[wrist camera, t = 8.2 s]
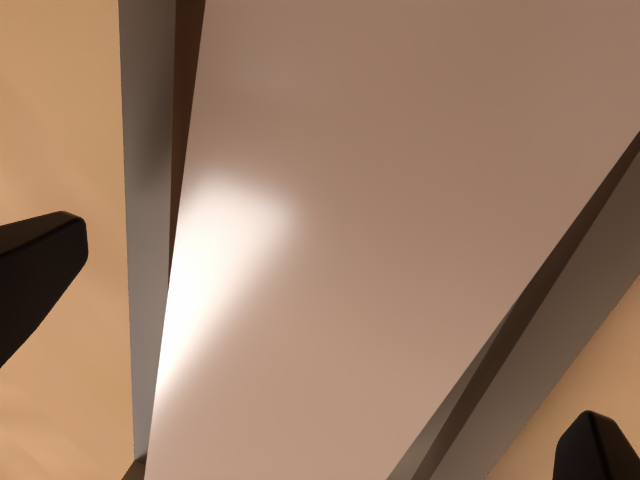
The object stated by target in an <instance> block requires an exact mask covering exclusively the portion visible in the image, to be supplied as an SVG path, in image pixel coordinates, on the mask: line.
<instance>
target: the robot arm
mask: <svg viewBox="0 0 640 480" xmlns="http://www.w3.org/2000/svg"><path fill="white" fill-rule="evenodd" d="M87 258H88V241H87V230H86V223H85V221H84V219H83V218H81V217H79V216H76V215H74V214H71V213H68V212H65V211H58V212H53V213H49V214H46V215H42V216H38V217H34V218H30V219H26V220H22V221H18V222H14V223H10V224H6V225H2V226H0V368H1V367H2V366H3V365H4V364H5V363H6V362H7V360H8V359H9V358H10V357H11V356H12V355H13V354H14V353H15V352H16V351H17V350H18V349H19V347H20V346H21V345H22V344H23V343H24V342H25V341H26V340H27V339H28V338H29V337H30V335H31V334H32V333H33V332H34V331H35V330H36V329H37V327H38V326H39V325H40V324H41V322H42V321H43V320H44V319H45V317H46V316H47V315H48V313H49V312H50V311H51V309H52V308H53V307H54V305H55V304H56V302H57V301H58V300H59V298H60V297H61V296H62V294H63V293H64V292H65V290H66V289H67V288H68V286H69V285H70V284H71V282H72V281H73V280H74V278H75V277H76V276H77V274H78V273H79V272H80V270H81V269H82V268H83V266H84V265H85V263H86V261H87ZM552 480H640V458H639V457H638V455H637V454H636V452H635V451H634V449H633V448H632V446H631V445H630V443H629V442H628V440H627V439H626V437H625V435H624V434H623V432H622V431H621V429H620V428H619V426H618V425H617V424H616V422H615V421H614V420H612V419H611V418H609V417H606V416H604V415H601V414H598V413H596V412H593V411H589V410H586V411H584V412H582V413H581V414H580V415H579V416H578V417H577V419H576V420H575V421H574V422H573V423H572V424H571V426H570V427H569V428H568V429H567V430H566V431H565V433H564V434H563V435H562V436H561V438H560V439H559V441H558V444H557V447H556V453H555V462H554V470H553V479H552Z"/></svg>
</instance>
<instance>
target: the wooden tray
mask: <svg viewBox="0 0 640 480" xmlns="http://www.w3.org/2000/svg"><path fill="white" fill-rule="evenodd" d="M118 3H119V32H120V60H121V89H122V118H123V146H124V175H125V203H126V232H127V261H128V289H129V318H130V347H131V375H132V404H133V433H134V462H133V463H132V465H131V466H130V468H129V469H128V471H127V472H126V474H125V475H124V477H123V478H122V480H144V477H145V469H146V461H147V454H148V446H149V438H150V430H151V422H152V415H153V407H154V399H155V391H156V384H157V376H158V368H159V360H160V352H161V345H162V337H163V329H164V321H165V314H166V306H167V298H168V290H169V283H170V275H171V267H172V259H173V251H174V244H175V236H176V228H177V220H178V213H179V205H180V197H181V189H182V182H183V174H184V166H185V158H186V150H187V143H188V135H189V127H190V119H191V112H192V104H193V96H194V88H195V81H196V73H197V65H198V57H199V49H200V42H201V34H202V26H203V18H204V11H205V3H206V0H118ZM639 274H640V131H639V132H638V133H637V135H636V136H635V138H634V139H633V140H632V142H631V143H630V144H629V146H628V147H627V149H626V150H625V151H624V153H623V154H622V155H621V157H620V158H619V160H618V161H617V162H616V164H615V165H614V167H613V168H612V169H611V171H610V172H609V173H608V175H607V176H606V178H605V179H604V180H603V182H602V183H601V184H600V186H599V187H598V189H597V190H596V191H595V193H594V194H593V195H592V197H591V198H590V200H589V201H588V202H587V204H586V205H585V206H584V208H583V209H582V211H581V212H580V213H579V215H578V216H577V217H576V219H575V220H574V222H573V223H572V224H571V226H570V227H569V228H568V230H567V231H566V233H565V234H564V235H563V237H562V238H561V239H560V241H559V242H558V244H557V245H556V246H555V248H554V249H553V250H552V252H551V253H550V255H549V256H548V257H547V259H546V260H545V261H544V263H543V264H542V266H541V267H540V268H539V270H538V271H537V272H536V274H535V275H534V277H533V278H532V279H531V281H530V282H529V283H528V285H527V286H526V288H525V289H524V290H523V292H522V293H521V294H520V296H519V297H518V299H517V300H516V301H515V303H514V304H513V305H512V307H511V308H510V310H509V311H508V312H507V314H506V315H505V316H504V318H503V319H502V321H501V322H500V323H499V325H498V326H497V327H496V329H495V330H494V332H493V333H492V334H491V336H490V337H489V339H488V340H487V341H486V343H485V344H484V345H483V347H482V348H481V350H480V351H479V352H478V354H477V355H476V356H475V358H474V359H473V361H472V362H471V363H470V365H469V366H468V367H467V369H466V370H465V372H464V373H463V374H462V376H461V377H460V378H459V380H458V381H457V383H456V384H455V385H454V387H453V388H452V389H451V391H450V392H449V394H448V395H447V396H446V398H445V399H444V400H443V402H442V403H441V405H440V406H439V407H438V409H437V410H436V411H435V413H434V414H433V416H432V417H431V418H430V420H429V421H428V422H427V424H426V425H425V427H424V428H423V429H422V431H421V432H420V433H419V435H418V436H417V438H416V439H415V440H414V442H413V443H412V444H411V446H410V447H409V449H408V450H407V451H406V453H405V454H404V455H403V457H402V458H401V460H400V461H399V462H398V464H397V465H396V466H395V468H394V469H393V471H392V472H391V473H390V475H389V476H388V477H387V479H386V480H483V479H484V478H485V477H486V475H487V474H488V473H489V471H490V470H491V469H492V467H493V466H494V465H495V463H496V462H497V461H498V460H499V458H500V457H501V456H502V454H503V453H504V452H505V450H506V449H507V448H508V446H509V445H510V444H511V442H512V441H513V440H514V439H515V437H516V436H517V435H518V433H519V432H520V431H521V429H522V428H523V427H524V425H525V424H526V423H527V421H528V420H529V419H530V417H531V416H532V415H533V414H534V412H535V411H536V410H537V408H538V407H539V406H540V404H541V403H542V402H543V400H544V399H545V398H546V396H547V395H548V394H549V393H550V391H551V390H552V389H553V387H554V386H555V385H556V383H557V382H558V381H559V379H560V378H561V377H562V375H563V374H564V373H565V371H566V370H567V369H568V368H569V366H570V365H571V364H572V362H573V361H574V360H575V358H576V357H577V356H578V354H579V353H580V352H581V350H582V349H583V348H584V347H585V345H586V344H587V343H588V341H589V340H590V339H591V337H592V336H593V335H594V333H595V332H596V331H597V329H598V328H599V327H600V325H601V324H602V323H603V322H604V320H605V319H606V318H607V316H608V315H609V314H610V312H611V311H612V310H613V308H614V307H615V306H616V304H617V303H618V302H619V301H620V299H621V298H622V297H623V295H624V294H625V293H626V291H627V290H628V289H629V287H630V286H631V285H632V283H633V282H634V281H635V279H636V278H637V277H638V276H639Z"/></svg>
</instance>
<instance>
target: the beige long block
mask: <svg viewBox="0 0 640 480" xmlns="http://www.w3.org/2000/svg"><path fill="white" fill-rule="evenodd" d="M639 131H640V0H206V3H205V11H204V18H203V26H202V34H201V42H200V49H199V57H198V65H197V73H196V81H195V88H194V96H193V104H192V112H191V119H190V127H189V135H188V143H187V150H186V158H185V166H184V174H183V182H182V189H181V197H180V205H179V213H178V220H177V228H176V236H175V244H174V251H173V259H172V267H171V275H170V283H169V290H168V298H167V306H166V314H165V321H164V329H163V337H162V345H161V352H160V360H159V368H158V376H157V384H156V391H155V399H154V407H153V415H152V422H151V430H150V438H149V446H148V454H147V461H146V469H145V477H144V480H386V479H387V477H388V476H389V475H390V473H391V472H392V471H393V469H394V468H395V466H396V465H397V464H398V462H399V461H400V460H401V458H402V457H403V455H404V454H405V453H406V451H407V450H408V449H409V447H410V446H411V444H412V443H413V442H414V440H415V439H416V438H417V436H418V435H419V433H420V432H421V431H422V429H423V428H424V427H425V425H426V424H427V422H428V421H429V420H430V418H431V417H432V416H433V414H434V413H435V411H436V410H437V409H438V407H439V406H440V405H441V403H442V402H443V400H444V399H445V398H446V396H447V395H448V394H449V392H450V391H451V389H452V388H453V387H454V385H455V384H456V383H457V381H458V380H459V378H460V377H461V376H462V374H463V373H464V372H465V370H466V369H467V367H468V366H469V365H470V363H471V362H472V361H473V359H474V358H475V356H476V355H477V354H478V352H479V351H480V350H481V348H482V347H483V345H484V344H485V343H486V341H487V340H488V339H489V337H490V336H491V334H492V333H493V332H494V330H495V329H496V327H497V326H498V325H499V323H500V322H501V321H502V319H503V318H504V316H505V315H506V314H507V312H508V311H509V310H510V308H511V307H512V305H513V304H514V303H515V301H516V300H517V299H518V297H519V296H520V294H521V293H522V292H523V290H524V289H525V288H526V286H527V285H528V283H529V282H530V281H531V279H532V278H533V277H534V275H535V274H536V272H537V271H538V270H539V268H540V267H541V266H542V264H543V263H544V261H545V260H546V259H547V257H548V256H549V255H550V253H551V252H552V250H553V249H554V248H555V246H556V245H557V244H558V242H559V241H560V239H561V238H562V237H563V235H564V234H565V233H566V231H567V230H568V228H569V227H570V226H571V224H572V223H573V222H574V220H575V219H576V217H577V216H578V215H579V213H580V212H581V211H582V209H583V208H584V206H585V205H586V204H587V202H588V201H589V200H590V198H591V197H592V195H593V194H594V193H595V191H596V190H597V189H598V187H599V186H600V184H601V183H602V182H603V180H604V179H605V178H606V176H607V175H608V173H609V172H610V171H611V169H612V168H613V167H614V165H615V164H616V162H617V161H618V160H619V158H620V157H621V155H622V154H623V153H624V151H625V150H626V149H627V147H628V146H629V144H630V143H631V142H632V140H633V139H634V138H635V136H636V135H637V133H638V132H639Z"/></svg>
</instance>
